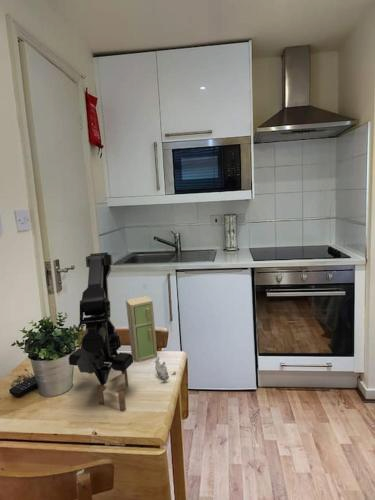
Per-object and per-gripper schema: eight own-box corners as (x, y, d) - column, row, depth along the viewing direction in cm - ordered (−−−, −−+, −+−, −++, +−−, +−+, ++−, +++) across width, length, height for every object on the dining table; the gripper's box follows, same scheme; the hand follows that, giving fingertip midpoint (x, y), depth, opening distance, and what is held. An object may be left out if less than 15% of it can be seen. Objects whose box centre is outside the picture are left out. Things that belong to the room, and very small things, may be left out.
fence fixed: (98, 406, 98) (96, 387, 97) (102, 402, 100) (100, 383, 98) (123, 414, 94) (121, 395, 93) (127, 410, 95) (125, 391, 94)
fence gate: (125, 383, 107) (124, 368, 106) (129, 385, 106) (127, 370, 105) (104, 399, 100) (102, 383, 99) (107, 401, 99) (106, 384, 98)
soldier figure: (172, 367, 119) (181, 373, 107) (163, 379, 117) (172, 387, 106) (154, 353, 118) (162, 358, 106) (145, 366, 116) (152, 372, 105)
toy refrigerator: (136, 363, 120) (130, 305, 116) (130, 354, 127) (125, 299, 123) (158, 357, 123) (153, 301, 119) (151, 349, 130) (147, 295, 126)
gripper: (53, 346, 97) (60, 396, 100) (112, 352, 91) (118, 406, 94) (77, 329, 108) (83, 376, 111) (131, 334, 102) (136, 383, 105)
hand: (103, 385), depth 105 cm, fingers closed
